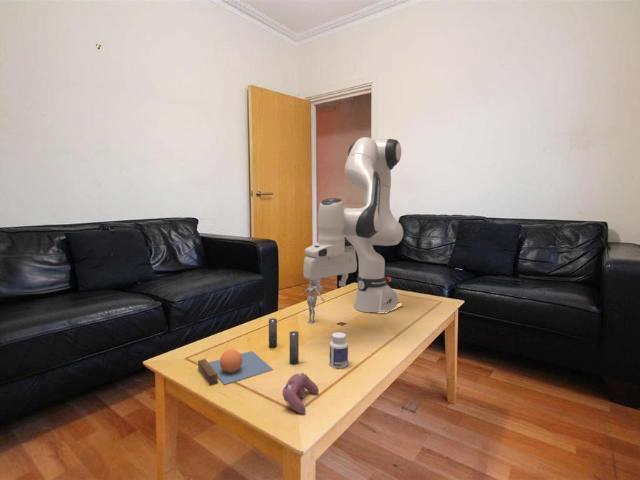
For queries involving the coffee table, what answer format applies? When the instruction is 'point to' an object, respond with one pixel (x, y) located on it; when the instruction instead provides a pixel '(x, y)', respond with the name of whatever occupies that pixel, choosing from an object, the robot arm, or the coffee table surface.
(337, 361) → the pill bottle
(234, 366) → the ball
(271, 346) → the post
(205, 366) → the stopper
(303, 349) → the coffee table surface
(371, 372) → the coffee table surface
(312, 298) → the human figurine
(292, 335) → the post
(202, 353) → the coffee table surface
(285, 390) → the video game controller
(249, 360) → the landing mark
